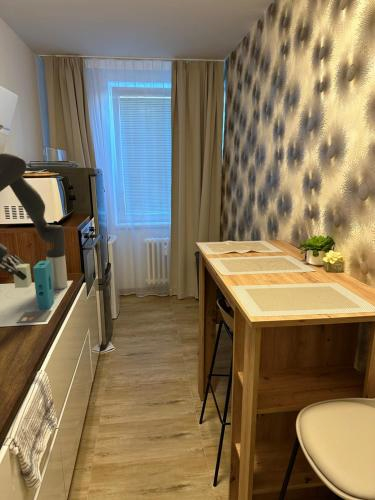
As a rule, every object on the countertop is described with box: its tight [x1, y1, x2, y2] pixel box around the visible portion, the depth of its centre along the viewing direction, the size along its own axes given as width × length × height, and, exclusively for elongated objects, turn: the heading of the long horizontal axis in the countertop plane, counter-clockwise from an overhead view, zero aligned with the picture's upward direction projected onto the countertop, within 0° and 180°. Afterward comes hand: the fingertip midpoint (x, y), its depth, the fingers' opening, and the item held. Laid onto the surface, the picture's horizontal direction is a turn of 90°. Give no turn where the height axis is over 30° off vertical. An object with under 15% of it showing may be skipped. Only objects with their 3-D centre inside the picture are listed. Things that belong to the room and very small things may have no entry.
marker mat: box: [16, 309, 53, 324], centre depth 150 cm, size 11×12×1 cm
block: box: [32, 260, 55, 311], centre depth 159 cm, size 12×5×20 cm, turn 8°
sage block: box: [13, 263, 33, 289], centre depth 143 cm, size 5×5×8 cm
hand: (27, 276), depth 143 cm, fingers closed on sage block, 5 cm apart
